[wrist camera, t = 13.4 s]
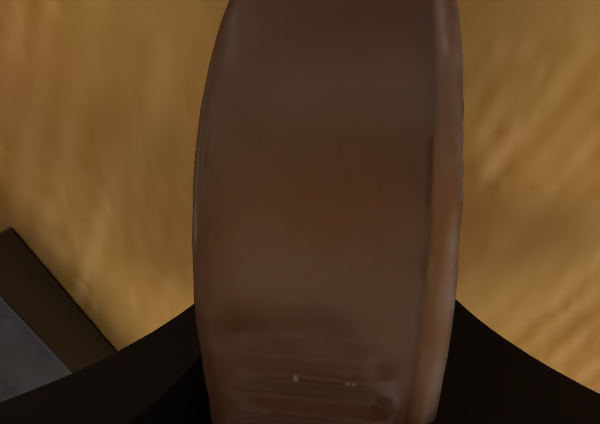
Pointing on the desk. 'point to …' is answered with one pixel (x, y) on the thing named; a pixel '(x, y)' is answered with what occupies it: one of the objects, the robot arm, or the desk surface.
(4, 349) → the stove
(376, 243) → the tin
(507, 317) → the desk surface
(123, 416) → the robot arm
